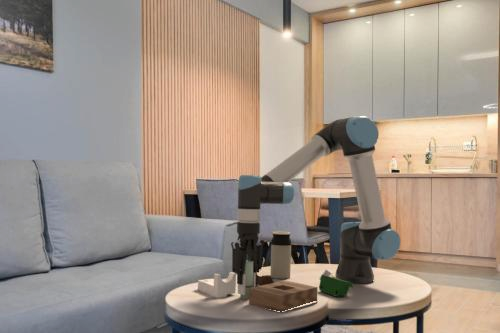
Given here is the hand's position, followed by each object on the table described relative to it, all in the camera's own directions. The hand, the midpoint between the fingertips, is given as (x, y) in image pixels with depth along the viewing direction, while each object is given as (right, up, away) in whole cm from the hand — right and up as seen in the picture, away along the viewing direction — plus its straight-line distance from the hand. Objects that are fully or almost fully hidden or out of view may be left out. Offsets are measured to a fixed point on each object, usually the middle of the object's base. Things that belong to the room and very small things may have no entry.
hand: (246, 292), depth 158 cm
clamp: (+31, -3, +10) cm, 33 cm away
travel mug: (+13, -3, +36) cm, 38 cm away
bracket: (-10, -2, +7) cm, 13 cm away
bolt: (+4, -3, +19) cm, 20 cm away
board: (+12, -2, -6) cm, 13 cm away
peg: (0, -2, 0) cm, 2 cm away
